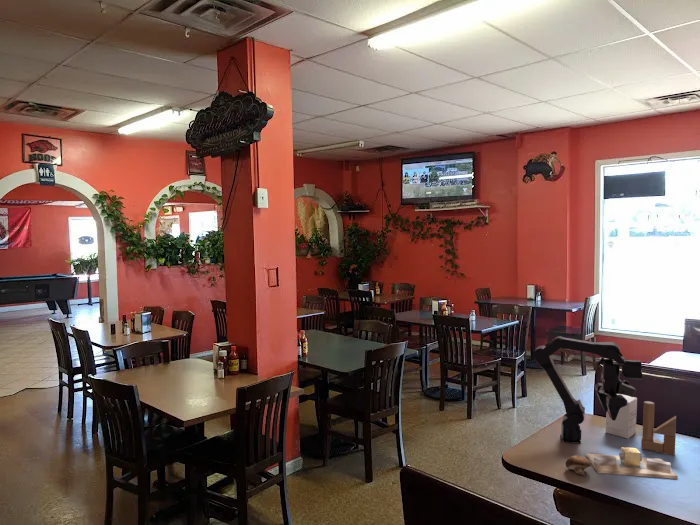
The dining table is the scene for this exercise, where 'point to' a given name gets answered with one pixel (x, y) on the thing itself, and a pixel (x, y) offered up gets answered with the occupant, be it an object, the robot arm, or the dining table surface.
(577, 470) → the mushroom
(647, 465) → the tan board grey square
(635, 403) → the supplement box
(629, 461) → the block
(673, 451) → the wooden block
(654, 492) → the dining table surface
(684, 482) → the dining table surface
